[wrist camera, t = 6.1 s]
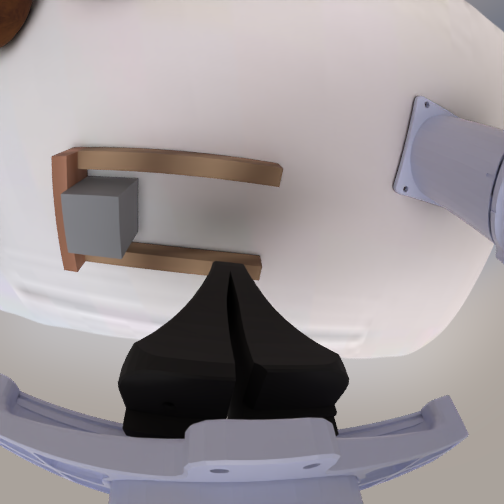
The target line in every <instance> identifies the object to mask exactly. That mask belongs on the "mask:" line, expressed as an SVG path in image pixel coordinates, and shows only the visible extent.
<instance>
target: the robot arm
mask: <svg viewBox="0 0 504 504" xmlns="http://www.w3.org/2000/svg"><path fill="white" fill-rule="evenodd" d="M425 102H426V107H425ZM405 186H406V189H405V190H404V191H403V188H404V187H405ZM394 190H395V192H397V193H399V194H402V195H405V196H409V197H412V198H415V199H419V200H422V201H425V202H428V203H432V204H435V205H438V206H441V207H444V208H446V209H447V210H449V211H450V212H452V213H453V214H454V215H456V216H457V217H459V218H460V219H462V220H463V221H465V222H466V223H467V224H469V225H470V226H472V227H473V228H474V229H476V230H477V231H478V232H480V233H481V234H482V235H484V236H485V237H486V238H488V239H489V240H490V241H491V242H493V243H494V244H495V245H496V258H497V259H499V260H500V261H501V262H502V263H503V264H504V130H502V129H499V128H495V127H492V126H488V125H485V124H481V123H477V122H473V121H469V120H465V119H461V118H459V117H457V116H456V115H454V114H453V113H451V112H449V111H448V110H446V109H444V108H443V107H441V106H439V105H438V104H436V103H434V102H432V101H431V100H429V99H427V98H425V97H423V96H417V97H416V98H415V102H414V107H413V112H412V116H411V121H410V126H409V130H408V134H407V139H406V143H405V147H404V151H403V154H402V158H401V162H400V165H399V169H398V173H397V176H396V179H395V183H394ZM348 384H349V377H348V375H347V372H346V369H345V367H344V364H343V362H342V360H341V358H340V356H339V354H337V353H335V352H333V351H331V350H329V349H327V348H325V347H324V346H322V345H320V344H318V343H316V342H315V341H313V340H312V339H310V338H309V337H307V336H306V335H304V334H303V333H302V332H300V331H299V330H298V329H296V328H295V327H294V326H293V325H291V324H290V323H289V322H288V321H287V320H285V319H284V318H283V317H282V316H281V315H280V314H279V313H278V312H277V311H276V310H275V309H274V308H273V307H272V305H271V304H270V303H269V302H268V301H267V299H266V298H265V297H264V295H263V294H262V293H261V291H260V290H259V288H258V287H257V286H256V284H255V282H254V281H253V279H252V278H251V276H250V274H249V273H248V271H247V269H246V267H245V266H244V264H241V263H232V262H222V261H214V262H213V263H212V267H211V269H210V272H209V274H208V275H207V277H206V279H205V281H204V282H203V284H202V285H201V287H200V288H199V290H198V291H197V292H196V294H195V295H194V296H193V298H192V299H191V300H190V301H189V302H188V303H187V305H186V306H185V307H184V308H183V309H182V310H181V311H180V312H179V313H178V314H176V315H175V316H174V317H173V318H172V319H171V320H170V321H168V322H167V323H166V324H164V325H163V326H162V327H160V328H159V329H158V330H156V331H155V332H153V333H152V334H150V335H148V336H146V337H145V338H143V339H141V340H139V341H138V342H135V343H134V344H133V346H132V348H131V349H130V351H129V353H128V355H127V357H126V359H125V362H124V364H123V366H122V369H121V373H120V377H119V381H118V387H119V391H120V394H121V396H122V399H123V401H124V404H125V406H126V412H125V417H124V422H123V424H122V423H117V422H113V421H108V420H105V419H101V418H97V417H93V416H89V415H85V414H82V413H79V412H76V411H72V410H69V409H66V408H63V407H60V406H57V405H54V404H51V403H49V402H46V401H43V400H41V399H38V398H36V397H33V396H31V395H28V394H26V393H24V392H21V391H20V390H19V388H18V387H17V385H16V384H15V383H14V381H13V380H11V379H10V378H9V377H7V376H5V375H3V374H1V373H0V446H2V447H4V448H5V449H7V450H9V451H10V452H12V453H14V454H16V455H18V456H19V457H21V458H23V459H25V460H27V461H29V462H31V463H33V464H35V465H37V466H39V467H41V468H43V469H45V470H47V471H49V472H51V473H54V474H56V475H58V476H60V477H63V478H65V479H68V480H70V481H73V482H75V483H78V484H80V485H83V486H86V487H89V488H92V489H94V490H97V491H101V492H104V493H107V494H109V504H363V501H362V497H361V494H360V490H363V489H366V488H369V487H372V486H375V485H378V484H381V483H383V482H386V481H389V480H391V479H394V478H396V477H399V476H401V475H403V474H406V473H408V472H410V471H413V470H415V469H417V468H419V467H422V466H424V465H426V464H428V463H430V462H432V461H434V460H436V459H437V458H439V457H440V456H442V455H443V454H445V453H446V452H448V451H449V450H451V449H452V448H453V447H455V446H456V445H457V444H459V443H460V442H461V441H463V440H464V439H465V438H467V437H468V435H469V434H468V432H467V430H466V428H465V426H464V423H463V421H462V419H461V417H460V415H459V413H458V411H457V409H456V407H455V406H454V404H453V402H452V400H451V398H450V396H449V395H446V396H443V397H440V398H437V399H434V400H432V401H430V402H428V403H427V404H426V405H425V406H424V407H423V408H422V409H421V411H419V412H415V413H412V414H408V415H405V416H401V417H397V418H394V419H390V420H385V421H381V422H376V423H372V424H367V425H362V426H357V427H351V428H345V429H340V430H338V429H337V426H336V422H335V419H334V416H335V415H336V413H337V411H336V408H335V403H336V402H337V400H338V399H339V398H340V396H341V395H342V394H343V393H344V391H345V390H346V388H347V386H348ZM227 417H228V418H227ZM226 418H227V419H226Z"/></svg>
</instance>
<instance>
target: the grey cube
mask: <svg viewBox="0 0 504 504" xmlns="http://www.w3.org/2000/svg"><path fill="white" fill-rule="evenodd" d="M61 203H62V213H63V221H64V229H65V236H66V243H67V249H68V253H74V254H82V255H90V256H99V257H107V258H116V259H122V258H123V256H124V254H125V253H126V251H127V249H128V247H129V246H130V244H131V242H132V241H133V239H134V237H135V236H136V234H137V232H138V178H125V177H101V176H87V177H86V178H84V179H82V180H81V181H79V182H78V183H76V184H75V185H73V186H72V187H70V188H69V189H67V190H66V191H64V192H63V193H61Z"/></svg>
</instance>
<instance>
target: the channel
mask: <svg viewBox="0 0 504 504" xmlns="http://www.w3.org/2000/svg"><path fill="white" fill-rule="evenodd" d="M87 169H96V170H121V171H138V172H153V173H166V174H178V175H188V176H198V177H207V178H216V179H225V180H233V181H240V182H248V183H255V184H262V185H269V186H275V187H279V186H280V181H281V176H282V172H283V168H282V167H281V166H280V165H279V164H278V163H272V162H266V161H259V160H253V159H246V158H239V157H231V156H223V155H215V154H206V153H196V152H186V151H174V150H160V149H143V148H115V147H74V148H71V149H69V150H66V151H64V152H61V153H59V154H56V155H54V156H52V182H53V196H54V207H55V216H56V224H57V231H58V238H59V244H60V250H61V255H62V261H63V266H64V270H68V271H74V272H78V271H79V269H80V268H81V266H82V265H83V264H84V262H85V261H89V262H96V263H104V264H112V265H119V266H127V267H136V268H144V269H152V270H161V271H170V272H179V273H188V274H197V275H208V274H209V272H210V269H211V267H212V263H213V262H214V261H222V262H232V263H241V264H244V266H245V267H246V269H247V271H248V273H249V274H250V276H251V278H252V279H253V280H259V278H260V273H261V269H262V264H261V259H260V256H258V255H248V254H239V253H229V252H220V251H210V250H201V249H191V248H182V247H173V246H163V245H154V244H145V243H136V242H131V244H130V246H129V247H128V249H127V251H126V253H125V254H124V256H123V258H122V259H116V258H107V257H99V256H90V255H82V254H74V253H68V249H67V243H66V236H65V229H64V221H63V213H62V203H61V193H63V192H64V191H66V190H67V189H69V188H70V187H72V186H73V185H75V184H76V183H78V182H79V181H81V180H82V179H84V178H86V177H87Z"/></svg>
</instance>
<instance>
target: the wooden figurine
mask: <svg viewBox="0 0 504 504" xmlns="http://www.w3.org/2000/svg"><path fill="white" fill-rule="evenodd" d="M31 5H32V0H0V48H1V47H3V46H4V45H6V44H7V43H8V42H9V41H11V40H12V39H13V37H14V36H15V35H16V33H17V32H18V31H19V30H20V28H21V27H22V25H23V24H24V22H25V20H26V18H27V16H28V14H29V11H30V8H31Z"/></svg>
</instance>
